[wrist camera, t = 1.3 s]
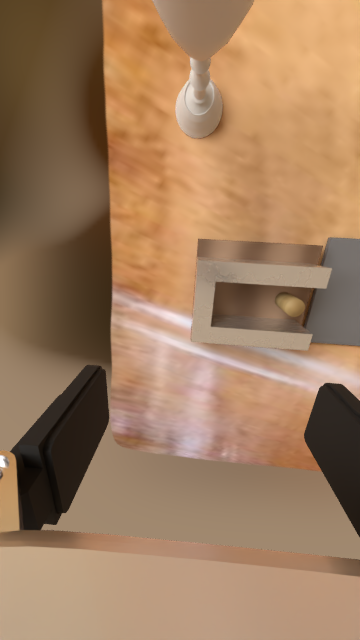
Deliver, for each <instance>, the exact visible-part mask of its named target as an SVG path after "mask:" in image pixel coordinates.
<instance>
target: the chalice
mask: <svg viewBox="0 0 360 640" xmlns="http://www.w3.org/2000/svg"><path fill="white" fill-rule="evenodd" d="M152 1H153V3H154V5H155V7H156V9H157V11H158V13H159V15H160V17H161V19H162V21H163V23H164V24H165V26H166V28H167V30H168V31H169V33H170V35H171V37H172V38H173V39H174V40H175V42H176V43H177V44H178V45H179V46H180V47H181V48H182V49H183V50H184V51H185V52H186V53H187V54H188V55H189V56H190V65H191V68H192V70H191V72H190V79H189V80H188V81H187V82H186V84H185V85H184V87H183V88H182V90H181V91H180V93H179V95H178V98H177V101H176V118H177V122H178V124H179V126H180V128H181V130H182V131H183V132H184V133H185V134H186V135H188V136H190V137H192V138H203V137H206V136H208V135H209V134H211V133H212V132H213V131H214V130H215V129H216V127H217V126H218V124H219V122H220V119H221V116H222V109H223V104H222V97H221V94H220V92H219V90H218V88H217V87H216V85H215V84H214V82H213V81H212V80H211V79H210V73H209V70H208V69H209V66H210V61H211V58H210V57H212V56H213V55H214V54H215V53H216V52H218V51H219V50H220V49H221V48H222V47H223V46H225V45H226V44H227V43H228V42H229V40H230V39H231V37H232V36H233V34H234V33H235V31H236V30H237V28H238V27H239V25H240V24H241V22H242V21H243V19H244V17H245V16H246V14H247V13H248V11H249V10H250V8H251V6H252V5H253V2H254V0H152Z"/></svg>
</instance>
